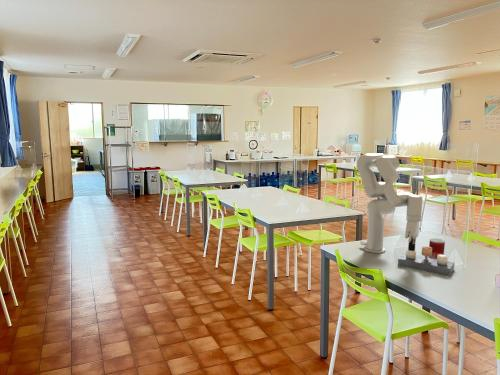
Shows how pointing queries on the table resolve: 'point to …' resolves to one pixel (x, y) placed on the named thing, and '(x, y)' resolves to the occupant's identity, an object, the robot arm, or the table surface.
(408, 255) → the knob
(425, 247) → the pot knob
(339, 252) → the table surface
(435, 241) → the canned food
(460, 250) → the table surface
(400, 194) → the robot arm
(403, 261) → the console
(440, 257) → the knob
